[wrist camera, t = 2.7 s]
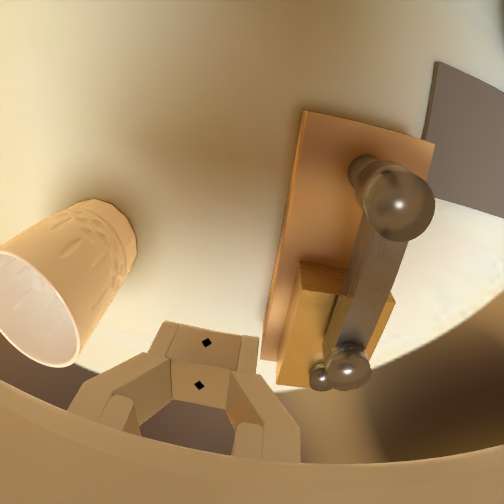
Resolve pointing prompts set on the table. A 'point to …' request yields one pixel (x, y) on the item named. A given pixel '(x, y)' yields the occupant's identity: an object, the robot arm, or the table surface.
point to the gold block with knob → (314, 326)
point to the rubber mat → (466, 140)
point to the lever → (373, 265)
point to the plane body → (329, 201)
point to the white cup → (63, 279)
